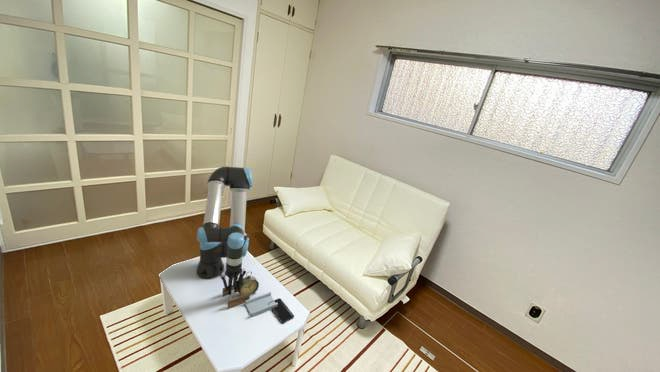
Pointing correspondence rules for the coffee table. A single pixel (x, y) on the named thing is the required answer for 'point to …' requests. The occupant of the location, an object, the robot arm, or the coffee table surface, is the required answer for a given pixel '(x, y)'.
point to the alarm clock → (248, 285)
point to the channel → (235, 299)
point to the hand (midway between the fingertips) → (231, 297)
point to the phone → (282, 311)
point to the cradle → (260, 304)
